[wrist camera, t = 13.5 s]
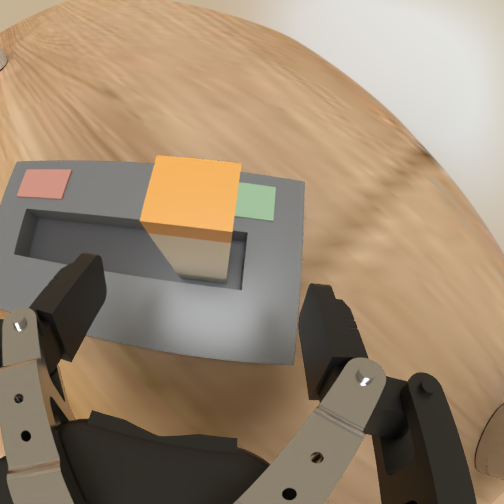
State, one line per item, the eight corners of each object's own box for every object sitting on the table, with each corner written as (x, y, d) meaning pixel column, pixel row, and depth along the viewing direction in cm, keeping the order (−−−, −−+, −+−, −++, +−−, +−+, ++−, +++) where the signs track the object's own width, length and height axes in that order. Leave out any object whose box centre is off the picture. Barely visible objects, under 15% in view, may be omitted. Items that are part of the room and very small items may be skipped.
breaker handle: (230, 246, 19) (241, 163, 10) (225, 283, 19) (232, 231, 9) (185, 241, 19) (156, 155, 9) (180, 277, 19) (139, 221, 9)
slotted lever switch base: (294, 200, 22) (305, 180, 19) (282, 360, 19) (294, 365, 16) (32, 177, 20) (15, 160, 17) (0, 304, 17) (-23, 299, 14)
